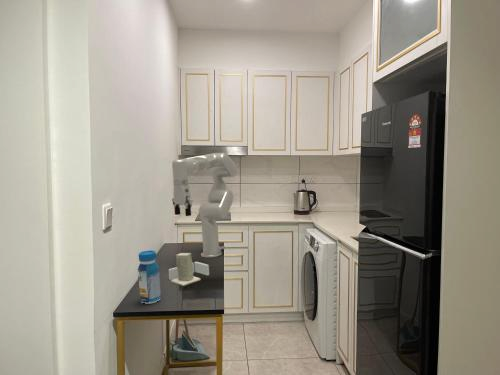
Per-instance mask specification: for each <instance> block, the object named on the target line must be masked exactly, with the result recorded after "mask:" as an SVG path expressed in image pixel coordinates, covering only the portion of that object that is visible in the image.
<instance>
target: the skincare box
mask: <svg viewBox="0 0 500 375" xmlns="http://www.w3.org/2000/svg"><path fill="white" fill-rule="evenodd" d="M175 259H176V267H177V272H178V280H184V281H190V280H191V279H193V278H194V277H195V276H194V273H193V266H192V263H193V258H192V253H191V252H179V253H178V254H175ZM193 276H194V277H193Z"/></svg>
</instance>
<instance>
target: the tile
mask: <svg viewBox="0 0 500 375" xmlns="http://www.w3.org/2000/svg"><path fill="white" fill-rule="evenodd" d="M193 277H194V278H193V279H191V280H190V281H184V280H178V278H176V279H173V280H170V282H172V283H174V284H176V285H180V286H183V287H185V286H187V285H190V284H193V283H196V282H198V281H199V282H200V281H201V278H200V277H197V276H194V275H193Z"/></svg>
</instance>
